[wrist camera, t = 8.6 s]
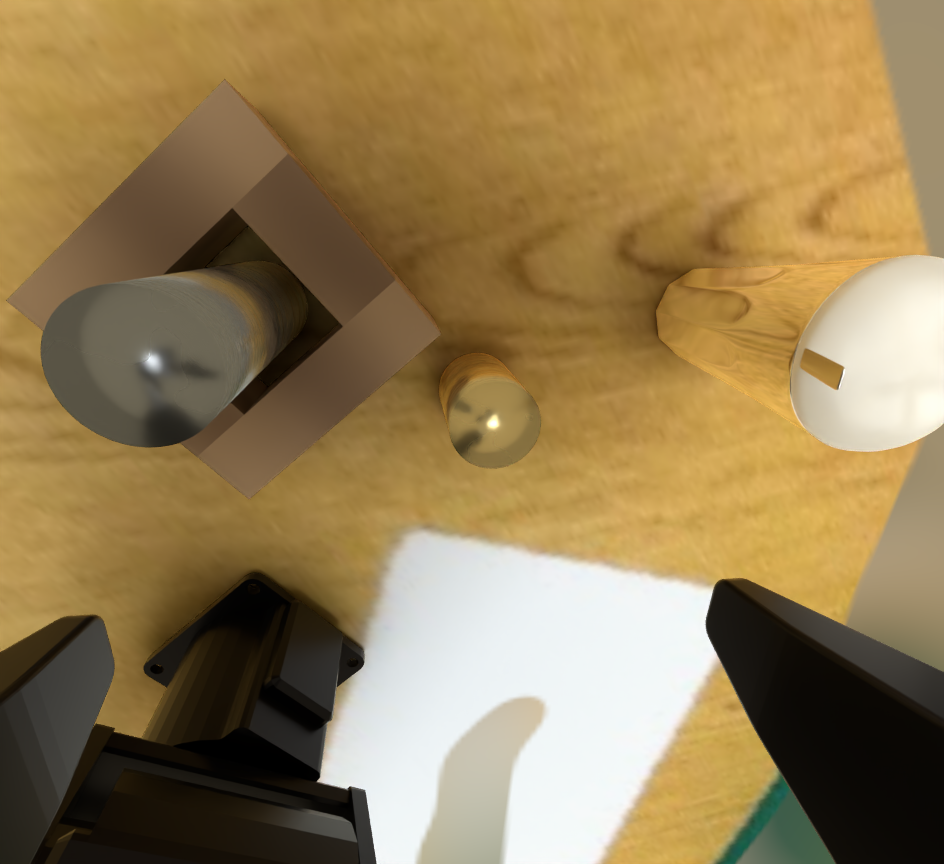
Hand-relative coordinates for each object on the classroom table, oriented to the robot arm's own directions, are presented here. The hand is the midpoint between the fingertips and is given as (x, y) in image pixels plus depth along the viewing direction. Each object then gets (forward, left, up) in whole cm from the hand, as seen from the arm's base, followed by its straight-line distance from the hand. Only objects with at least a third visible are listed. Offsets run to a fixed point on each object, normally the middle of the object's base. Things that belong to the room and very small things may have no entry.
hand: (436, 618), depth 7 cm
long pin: (-2, +6, -12) cm, 13 cm away
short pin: (+2, -1, -12) cm, 12 cm away
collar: (-2, +6, -12) cm, 13 cm away
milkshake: (+10, -4, -12) cm, 16 cm away
